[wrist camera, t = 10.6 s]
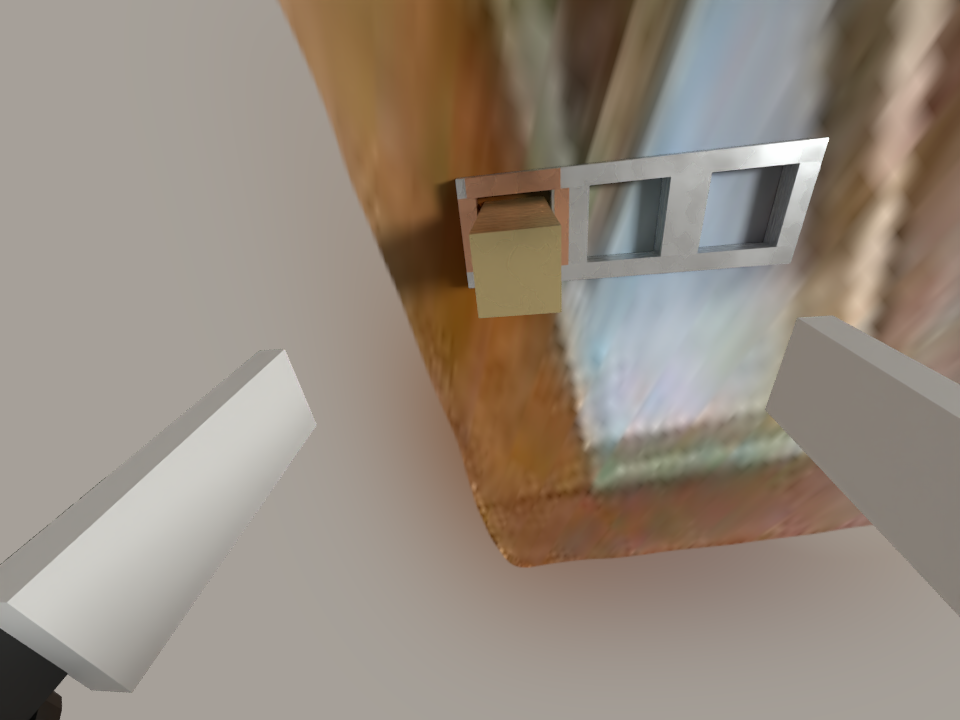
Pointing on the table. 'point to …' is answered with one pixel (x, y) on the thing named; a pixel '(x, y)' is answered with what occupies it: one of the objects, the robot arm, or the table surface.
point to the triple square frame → (661, 207)
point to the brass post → (516, 258)
